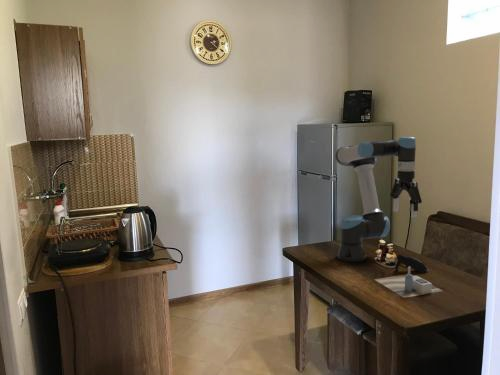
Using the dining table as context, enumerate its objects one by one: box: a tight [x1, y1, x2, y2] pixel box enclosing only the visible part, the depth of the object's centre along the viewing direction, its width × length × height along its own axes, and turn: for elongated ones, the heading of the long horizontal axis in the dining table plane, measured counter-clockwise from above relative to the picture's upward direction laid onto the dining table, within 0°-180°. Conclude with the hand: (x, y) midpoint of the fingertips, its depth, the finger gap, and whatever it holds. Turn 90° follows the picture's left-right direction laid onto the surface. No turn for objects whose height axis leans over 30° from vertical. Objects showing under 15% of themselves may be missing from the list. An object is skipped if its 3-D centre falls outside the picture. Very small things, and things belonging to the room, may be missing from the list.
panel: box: [374, 273, 443, 299], centre depth 185 cm, size 22×20×1 cm
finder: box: [413, 275, 433, 295], centre depth 180 cm, size 10×5×4 cm, turn 16°
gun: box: [394, 253, 430, 273], centre depth 202 cm, size 3×16×10 cm, turn 80°
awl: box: [404, 267, 414, 293], centre depth 177 cm, size 3×3×11 cm
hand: (404, 214), depth 194 cm, fingers open, 13 cm apart
